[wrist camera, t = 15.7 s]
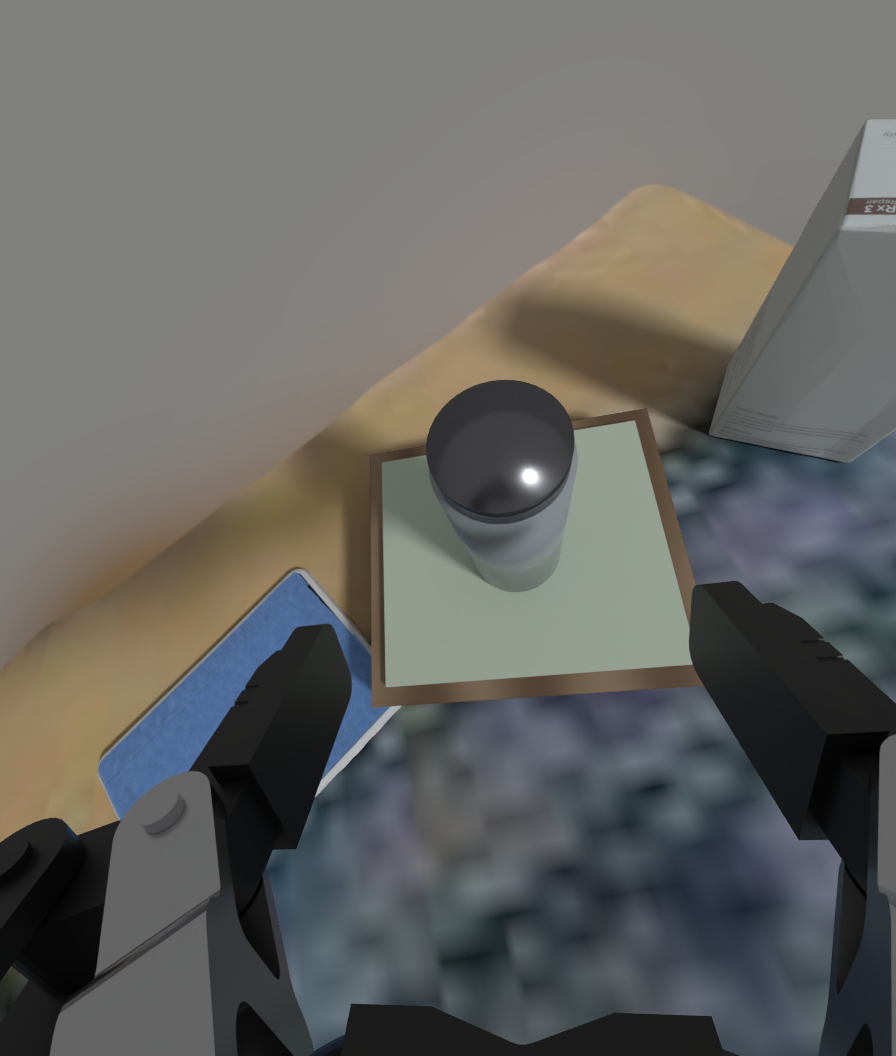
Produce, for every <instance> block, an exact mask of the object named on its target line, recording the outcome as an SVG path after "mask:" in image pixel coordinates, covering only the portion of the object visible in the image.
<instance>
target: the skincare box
mask: <svg viewBox="0 0 896 1056" xmlns="http://www.w3.org/2000/svg"><path fill="white" fill-rule="evenodd" d="M895 430H896V119H893V120H892V119H890V120H889V119H885V120H882V119H880V120H879V119H878V120H877V119H872V120H871V119H869V120H867V121H865V123H864V125H863V126H862V128H861V130H860V131H859V133H858V135H857V136H856V138H855V140H854V142H853V143H852V145H851V147H850V149H849V150H848V152H847V154H846V156H845V157H844V159H843V161H842V163H841V164H840V166H839V168H838V170H837V172H836V173H835V175H834V177H833V179H832V181H831V183H830V184H829V186H828V188H827V190H826V191H825V193H824V195H823V196H822V198H821V200H820V201H819V203H818V205H817V206H816V208H815V210H814V212H813V214H812V215H811V217H810V219H809V221H808V223H807V225H806V226H805V228H804V230H803V232H802V234H801V236H800V238H799V240H798V242H797V243H796V245H795V247H794V249H793V250H792V252H791V254H790V256H789V257H788V259H787V261H786V263H785V265H784V266H783V268H782V270H781V272H780V274H779V275H778V277H777V279H776V281H775V282H774V284H773V286H772V288H771V290H770V291H769V293H768V295H767V297H766V299H765V300H764V302H763V304H762V306H761V307H760V309H759V311H758V313H757V314H756V316H755V318H754V320H753V322H752V324H751V325H750V327H749V329H748V331H747V332H746V334H745V336H744V338H743V340H742V341H741V343H740V345H739V347H738V348H737V350H736V352H735V354H734V355H733V357H732V359H731V361H730V363H729V364H728V366H727V370H726V373H725V377H724V380H723V384H722V388H721V391H720V395H719V398H718V402H717V405H716V409H715V412H714V416H713V420H712V423H711V427H710V430H709V435H710V436H715V437H720V438H725V439H730V440H735V441H740V442H745V443H750V444H755V445H760V446H765V447H770V448H775V449H779V450H784V451H789V452H794V453H799V454H804V455H810V456H815V457H821V458H826V459H830V460H835V461H839V462H843V463H849V462H851V461H853V460H854V459H855V458H857V457H858V456H860V455H861V454H862V453H864V452H865V451H867V450H868V449H869V448H871V447H872V446H874V445H875V444H876V443H878V442H879V441H880V440H882V439H883V438H885V437H886V436H888V435H889V434H890V433H892V432H893V431H895Z"/></svg>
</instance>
